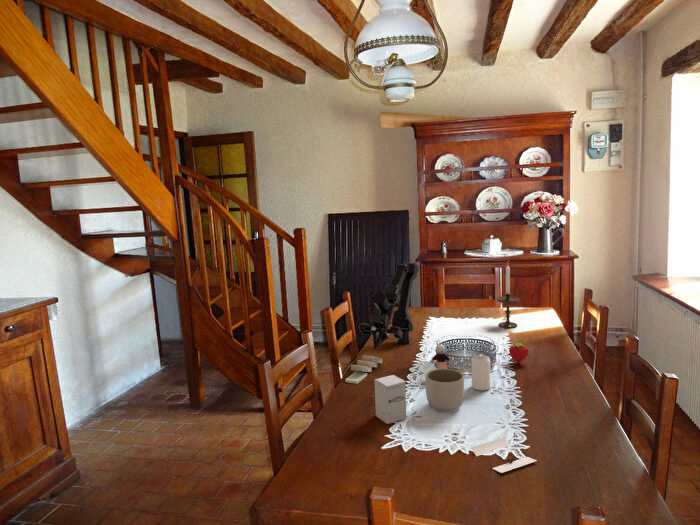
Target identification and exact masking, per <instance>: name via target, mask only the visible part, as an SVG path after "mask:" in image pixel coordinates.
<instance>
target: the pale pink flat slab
mask: <svg viewBox="0 0 700 525" xmlns="http://www.w3.org/2000/svg"><path fill="white" fill-rule="evenodd" d="M510 446H511V444H510V442H509V441H508V440H507V439H506V437H501V438H497V439H494V440H491V441H487V442H484V443H481V444H478V445H475V446H472V447H470V449H471V450H472V452H473V453H474V455H475V457H479V456H482V455H484V454H488V453H491V452H494V451H496V450H500V449H503V448H506V447H510ZM535 462H538V460H537V459H534V458H531V457H529V456H526V457H523V458H520V459H517V460H515V459H514V457H511V458H510V459H509V458H507V459H506V463H505V464H501V465H498V466H495V467H492V469H493V470H495V471H496V472H498V473H501V474H503V473H505V472H509V471H512V470H513V469H517V468H520V467H523V466H527V465H529V464H531V463H532V464H533V463H535Z"/></svg>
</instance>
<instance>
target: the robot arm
mask: <svg viewBox="0 0 700 525" xmlns="http://www.w3.org/2000/svg"><path fill="white" fill-rule="evenodd" d="M419 270H420V268H419V265H418V264H417V263H416V262H403V263H400V264H397V265H396V270H395V273H394V275H393V277H392V280H391V282H390V284H389V286H388V287H386V288H385V289H384V291H383V290H379V292H377V293H376V294H375V295H374V296H373V297H372V302H373V304H374V305H375V307H376V308H377V310H379V313H378V314H371V316H370V323H372V325H373V326H370V324H369V323H360V324H359V326H358V330H359V331H360V333H361V334H362V335H363V336H370V335H371V336H372V337H373V338H372V340H373V349H374V350H377V349H378V348H379V347H380V346H381V345H382V344H383V343H384V342H385V341H386V340H389V339H390V337H389V336H390V335H393V337H394V338H395V339H396V341H395V344H398V345H410V343H411V342H412V339H410V332H412V331H414V323H413V322H412V320H411V314H410V312H409V309H410V300H411V294H412V288H413V282H414V280H416V278H417V276H418V272H419ZM393 305H398V306H397V307H398V308H397V309H396V310H395V308H394V306H393ZM390 325H392V326H390ZM389 326H390V327H389Z"/></svg>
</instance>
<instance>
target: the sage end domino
mask: <svg viewBox="0 0 700 525" xmlns="http://www.w3.org/2000/svg"><path fill="white" fill-rule="evenodd" d="M366 377H368V372H363V371H354V372H353V373H352V374H350V375H349V376H347V378H345V380H344V381H345V383H350V384H356V385H358V384H359V383H360V382H361V381H362V380H364V379H365V378H366Z"/></svg>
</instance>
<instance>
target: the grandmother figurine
mask: <svg viewBox="0 0 700 525" xmlns="http://www.w3.org/2000/svg"><path fill="white" fill-rule="evenodd" d="M436 352H437V354H435V355H433V356H432V358H431V360H430V363H431V364H434V362H435V361H436V369H448V366H447V363H448V365H449V366H451V365H452V360H451V359H450V358H449V356H448V355H447V354H444V353H445V352H446V346H445V345H444V344H438V346H437V347H436Z"/></svg>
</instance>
